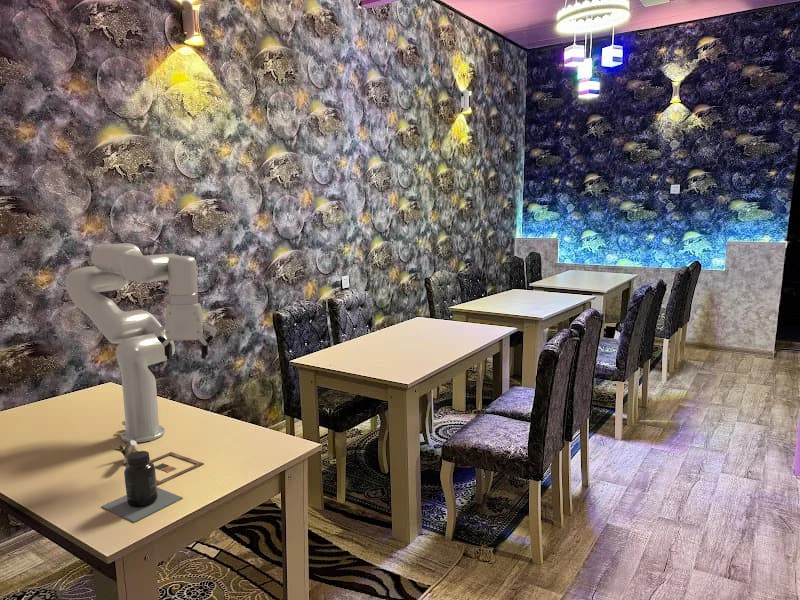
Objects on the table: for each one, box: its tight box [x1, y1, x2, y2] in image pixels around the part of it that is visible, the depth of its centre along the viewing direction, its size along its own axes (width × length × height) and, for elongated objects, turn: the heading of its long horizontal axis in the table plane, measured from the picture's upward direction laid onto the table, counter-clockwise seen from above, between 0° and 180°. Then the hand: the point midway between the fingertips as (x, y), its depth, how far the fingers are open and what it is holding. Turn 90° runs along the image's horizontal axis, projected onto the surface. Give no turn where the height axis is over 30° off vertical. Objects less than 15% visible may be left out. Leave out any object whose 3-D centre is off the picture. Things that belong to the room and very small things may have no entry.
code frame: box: [150, 451, 205, 486], centre depth 159 cm, size 14×14×1 cm
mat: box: [101, 486, 184, 524], centre depth 141 cm, size 13×13×1 cm
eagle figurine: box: [111, 440, 139, 465], centre depth 162 cm, size 8×7×9 cm
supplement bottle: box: [123, 450, 158, 507], centre depth 140 cm, size 7×7×12 cm
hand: (186, 358), depth 167 cm, fingers open, 9 cm apart
